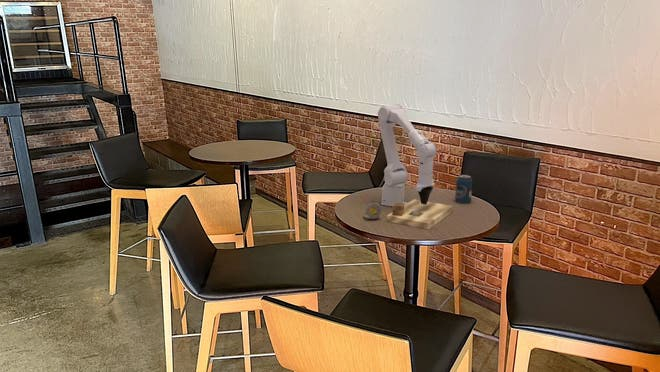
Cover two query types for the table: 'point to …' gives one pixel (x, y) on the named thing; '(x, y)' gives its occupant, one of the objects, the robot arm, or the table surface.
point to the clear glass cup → (373, 210)
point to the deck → (421, 214)
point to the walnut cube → (398, 209)
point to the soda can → (463, 189)
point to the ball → (415, 213)
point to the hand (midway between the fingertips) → (424, 203)
